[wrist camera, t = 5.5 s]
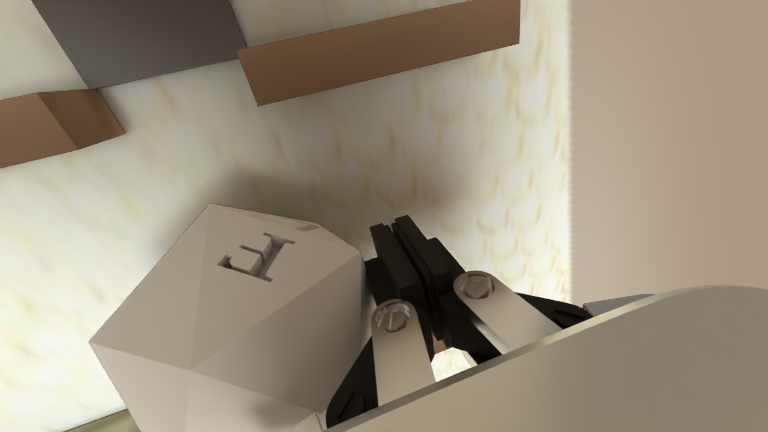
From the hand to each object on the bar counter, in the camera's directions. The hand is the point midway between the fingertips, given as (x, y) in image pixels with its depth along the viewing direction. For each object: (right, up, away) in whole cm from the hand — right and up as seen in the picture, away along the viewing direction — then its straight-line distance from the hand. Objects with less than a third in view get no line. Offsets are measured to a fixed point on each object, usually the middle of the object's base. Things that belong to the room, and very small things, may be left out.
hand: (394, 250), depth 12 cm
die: (-6, -1, +2) cm, 6 cm away
